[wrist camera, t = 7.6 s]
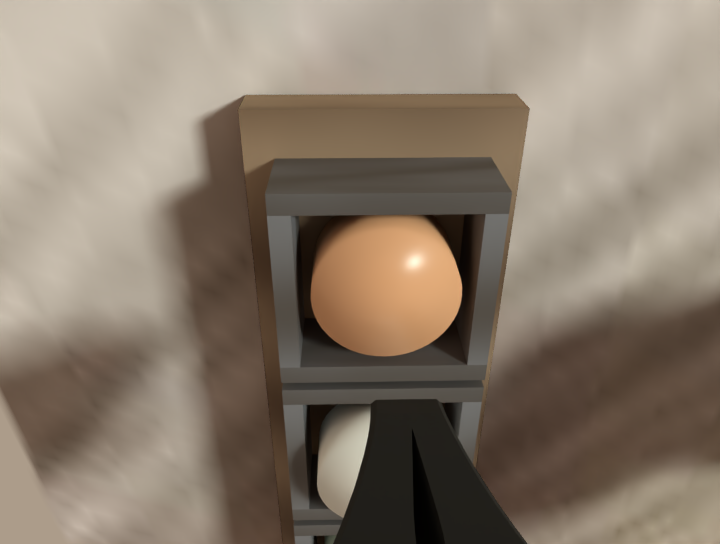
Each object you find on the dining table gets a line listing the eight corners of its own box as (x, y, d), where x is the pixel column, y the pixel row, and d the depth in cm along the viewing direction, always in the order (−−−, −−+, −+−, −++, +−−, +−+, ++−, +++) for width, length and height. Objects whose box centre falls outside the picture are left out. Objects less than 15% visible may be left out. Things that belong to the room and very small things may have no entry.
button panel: (245, 95, 18) (222, 139, 14) (516, 94, 18) (557, 138, 14) (289, 553, 29) (282, 639, 26) (454, 549, 29) (468, 634, 26)
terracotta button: (477, 270, 19) (490, 306, 17) (369, 337, 20) (372, 378, 18) (397, 169, 17) (403, 199, 15) (285, 251, 18) (279, 287, 16)
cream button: (463, 442, 21) (473, 489, 19) (368, 493, 22) (370, 541, 21) (392, 370, 19) (397, 415, 18) (294, 430, 21) (289, 477, 19)
